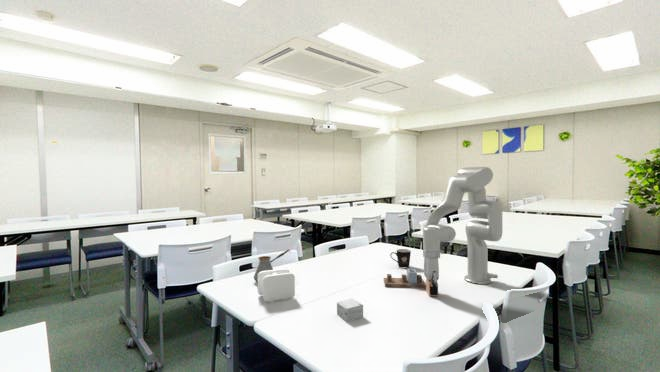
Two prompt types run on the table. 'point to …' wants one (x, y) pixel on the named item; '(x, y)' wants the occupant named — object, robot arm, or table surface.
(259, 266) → the coffee pot
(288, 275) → the cable organizer
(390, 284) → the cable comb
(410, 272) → the slate plug
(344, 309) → the small box
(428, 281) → the terracotta plug
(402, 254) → the coffee mug
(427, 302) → the table surface
